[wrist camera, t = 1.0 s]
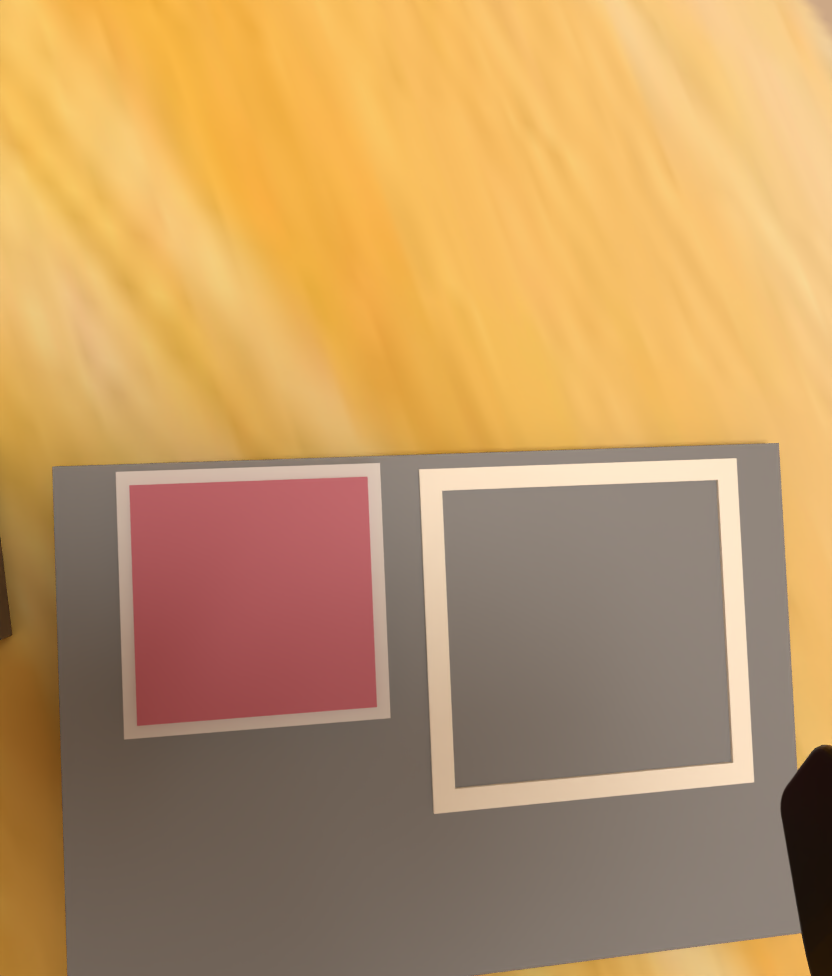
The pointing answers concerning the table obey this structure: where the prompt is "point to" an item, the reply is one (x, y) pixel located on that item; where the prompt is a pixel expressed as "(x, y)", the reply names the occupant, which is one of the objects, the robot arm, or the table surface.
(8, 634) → the stamp
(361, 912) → the stamp board
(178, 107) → the table surface
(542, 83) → the table surface
